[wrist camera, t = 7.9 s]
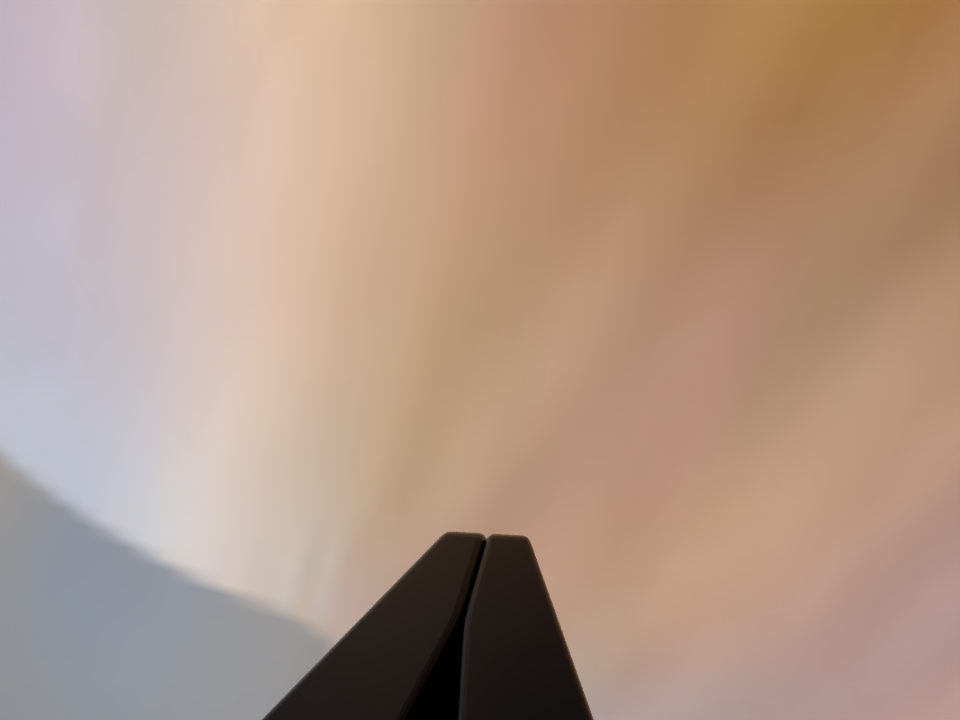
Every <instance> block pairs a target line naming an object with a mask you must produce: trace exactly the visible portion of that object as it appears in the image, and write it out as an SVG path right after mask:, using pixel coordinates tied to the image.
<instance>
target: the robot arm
mask: <svg viewBox="0 0 960 720" xmlns="http://www.w3.org/2000/svg"><path fill="white" fill-rule="evenodd" d="M262 720H593V717H592V714H591V711H590V708H589V705H588V703H587V700H586V697H585V694H584V691H583V689H582V686H581V683H580V680H579V677H578V675H577V672H576V669H575V666H574V663H573V660H572V658H571V655H570V652H569V649H568V646H567V644H566V641H565V638H564V635H563V632H562V630H561V627H560V624H559V621H558V618H557V615H556V613H555V610H554V607H553V604H552V601H551V599H550V596H549V593H548V590H547V587H546V584H545V582H544V579H543V576H542V573H541V570H540V568H539V565H538V562H537V559H536V556H535V554H534V551H533V548H532V545H531V542H530V541H529V539H528V538H527V537H525V536H519V535H502V534H492V535H490V536H489V537H488V538H487V539H486V537H485V536H484V535H483V534H480V533H466V532H447V533H445V534H443V535H442V536H441V537H440V538H439V539H438V540H437V541H436V542H435V543H434V544H433V545H432V546H431V547H430V548H429V549H428V550H427V551H426V552H425V553H424V554H423V555H422V556H421V557H420V559H419V560H418V561H417V562H416V563H415V564H414V565H413V566H412V567H411V568H410V569H409V570H408V571H407V572H406V573H405V574H404V575H403V576H402V577H401V578H400V579H399V580H398V581H397V582H396V583H395V584H394V585H393V586H392V587H391V588H390V589H389V590H388V591H387V592H386V593H385V594H384V595H383V596H382V597H381V598H380V599H379V600H378V601H377V602H376V604H375V605H374V606H373V607H372V608H371V609H370V610H369V611H368V612H367V613H366V614H365V615H364V616H363V617H362V618H361V619H360V620H359V621H358V622H357V623H356V624H355V625H354V626H353V627H352V628H351V629H350V630H349V631H348V632H347V633H346V634H345V635H344V636H343V637H342V638H341V639H340V640H339V641H338V642H337V643H336V644H335V645H334V646H333V647H332V649H331V650H330V651H329V652H328V653H327V654H326V655H325V656H324V657H323V658H322V659H321V660H320V661H319V662H318V663H317V664H316V665H315V666H314V667H313V668H312V669H311V670H310V671H309V672H308V673H307V674H306V675H305V676H304V677H303V678H302V679H301V680H300V681H299V682H298V683H297V684H296V685H295V687H293V688H292V689H291V690H290V692H289V693H288V694H287V695H286V696H285V697H284V698H283V699H282V700H281V701H280V702H279V703H278V704H277V705H276V706H275V707H274V708H273V709H272V710H271V711H270V712H269V713H268V714H267V715H266V716H265V717H264V718H263V719H262Z"/></svg>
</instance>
